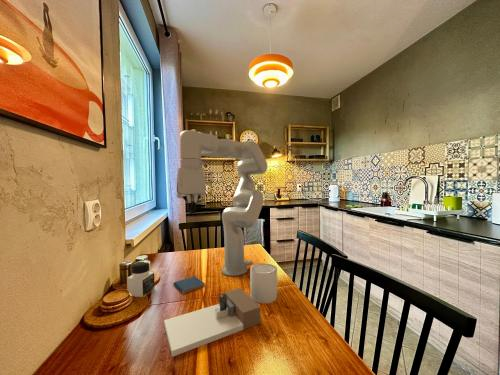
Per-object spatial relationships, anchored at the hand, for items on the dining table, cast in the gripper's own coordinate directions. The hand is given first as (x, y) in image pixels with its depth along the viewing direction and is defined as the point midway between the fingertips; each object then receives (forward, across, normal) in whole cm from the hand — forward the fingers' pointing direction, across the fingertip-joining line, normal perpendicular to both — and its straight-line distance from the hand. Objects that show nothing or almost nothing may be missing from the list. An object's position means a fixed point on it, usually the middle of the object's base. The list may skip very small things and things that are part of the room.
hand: (191, 213), depth 82 cm
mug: (+32, -24, +12) cm, 42 cm away
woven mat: (+33, -1, -10) cm, 34 cm away
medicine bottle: (+32, +17, -14) cm, 39 cm away
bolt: (+30, -8, +19) cm, 37 cm away
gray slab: (+32, -1, +19) cm, 37 cm away
